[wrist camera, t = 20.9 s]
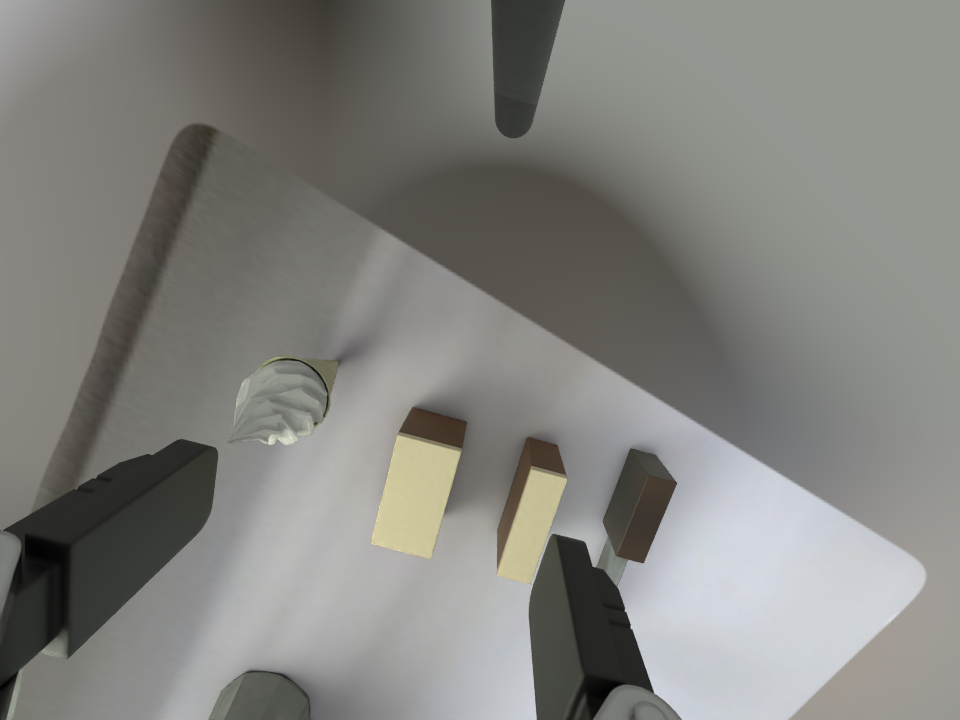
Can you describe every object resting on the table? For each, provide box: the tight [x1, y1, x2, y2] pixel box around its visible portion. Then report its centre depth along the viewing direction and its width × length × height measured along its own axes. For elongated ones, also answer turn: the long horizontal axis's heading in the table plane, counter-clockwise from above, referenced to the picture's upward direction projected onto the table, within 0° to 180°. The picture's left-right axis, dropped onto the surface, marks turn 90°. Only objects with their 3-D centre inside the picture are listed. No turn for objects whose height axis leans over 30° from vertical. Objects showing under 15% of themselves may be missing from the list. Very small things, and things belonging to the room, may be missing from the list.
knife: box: [597, 449, 677, 586], centre depth 36 cm, size 16×2×4 cm, turn 165°
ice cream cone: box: [227, 356, 339, 445], centre depth 29 cm, size 5×5×15 cm
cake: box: [371, 408, 467, 559], centre depth 35 cm, size 9×5×6 cm, turn 165°
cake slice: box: [497, 438, 568, 584], centre depth 35 cm, size 9×3×6 cm, turn 165°
